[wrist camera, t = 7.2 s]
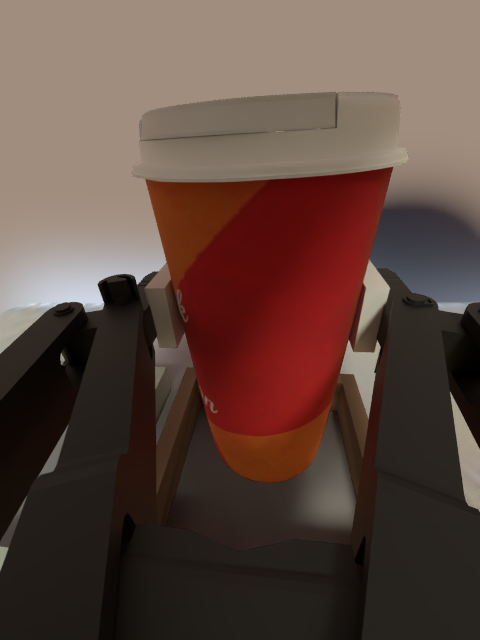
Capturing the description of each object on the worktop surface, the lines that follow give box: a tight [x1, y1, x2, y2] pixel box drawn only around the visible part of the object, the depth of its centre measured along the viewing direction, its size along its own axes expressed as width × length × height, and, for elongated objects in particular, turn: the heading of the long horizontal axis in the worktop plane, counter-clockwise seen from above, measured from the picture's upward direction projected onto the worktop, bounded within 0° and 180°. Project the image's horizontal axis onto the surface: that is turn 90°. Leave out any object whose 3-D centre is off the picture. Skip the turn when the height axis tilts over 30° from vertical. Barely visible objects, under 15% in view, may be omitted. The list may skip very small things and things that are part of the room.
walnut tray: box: [156, 368, 369, 527], centre depth 18 cm, size 13×13×3 cm
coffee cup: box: [132, 92, 409, 483], centre depth 12 cm, size 8×8×15 cm
